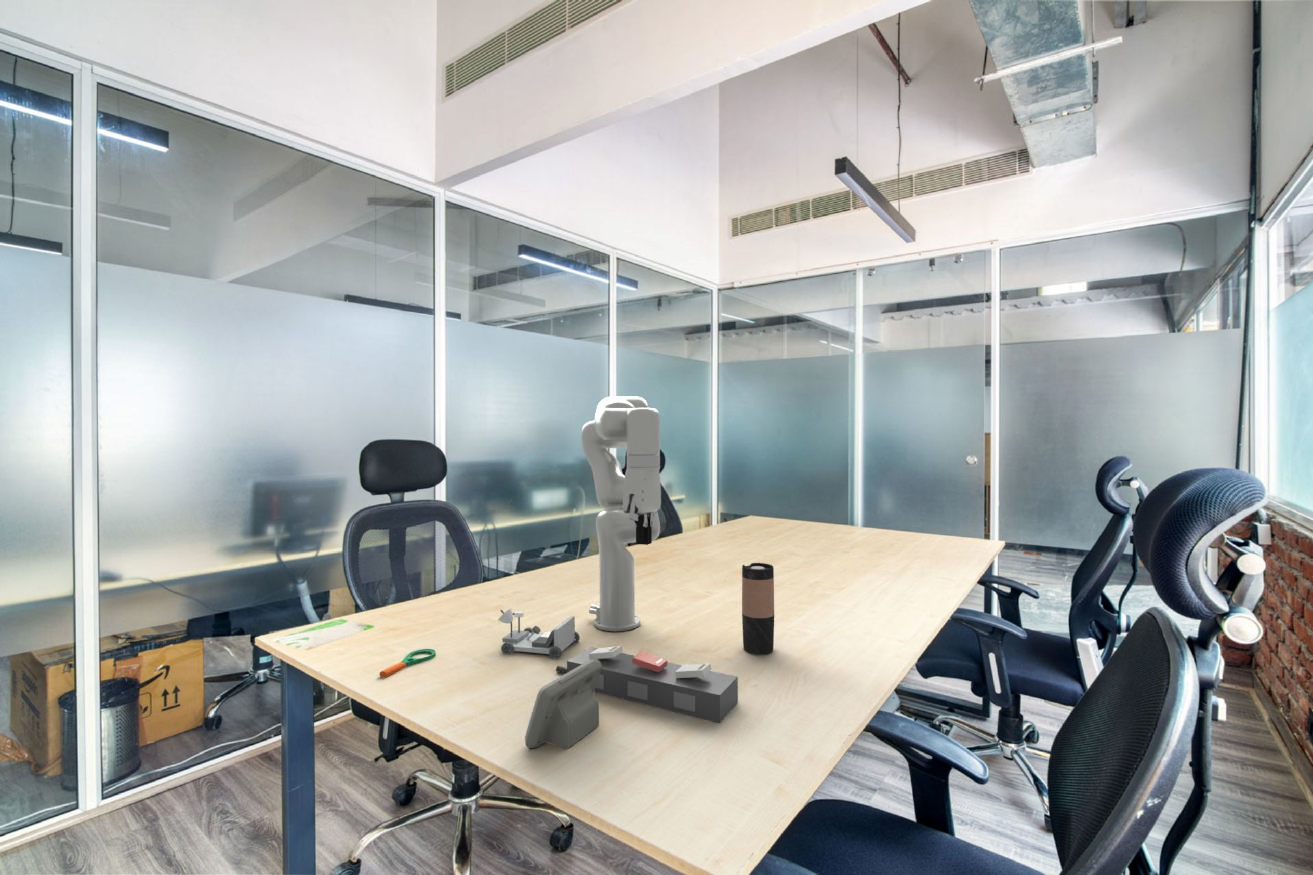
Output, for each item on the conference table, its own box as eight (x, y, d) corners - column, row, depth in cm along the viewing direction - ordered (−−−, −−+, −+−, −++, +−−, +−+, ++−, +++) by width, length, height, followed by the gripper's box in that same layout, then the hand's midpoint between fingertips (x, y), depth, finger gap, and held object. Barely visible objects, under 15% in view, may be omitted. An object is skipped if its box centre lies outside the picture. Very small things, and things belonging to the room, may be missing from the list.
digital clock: (584, 707, 110) (584, 651, 110) (618, 723, 104) (617, 664, 104) (511, 742, 98) (511, 679, 98) (545, 761, 92) (544, 694, 92)
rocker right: (676, 678, 111) (674, 671, 111) (684, 671, 114) (682, 664, 114) (704, 676, 108) (702, 669, 108) (711, 669, 111) (710, 662, 111)
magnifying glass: (420, 652, 140) (420, 645, 140) (441, 655, 138) (441, 648, 138) (371, 677, 125) (371, 669, 125) (394, 681, 124) (394, 673, 124)
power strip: (543, 679, 123) (543, 656, 123) (570, 664, 131) (569, 642, 131) (719, 723, 103) (719, 695, 103) (737, 702, 112) (737, 676, 112)
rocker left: (590, 659, 120) (588, 653, 121) (599, 653, 124) (598, 647, 124) (613, 657, 118) (612, 651, 118) (622, 651, 121) (621, 645, 121)
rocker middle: (632, 663, 116) (632, 657, 115) (641, 657, 119) (641, 651, 119) (658, 672, 113) (659, 665, 113) (667, 665, 116) (667, 659, 116)
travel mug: (774, 656, 135) (774, 570, 135) (741, 654, 136) (740, 569, 136) (774, 644, 142) (774, 563, 142) (743, 642, 144) (742, 562, 144)
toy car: (490, 613, 139) (514, 599, 150) (491, 653, 139) (514, 637, 150) (560, 618, 134) (579, 604, 145) (560, 660, 134) (579, 643, 145)
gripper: (645, 461, 139) (645, 537, 139) (611, 463, 126) (611, 548, 126) (673, 461, 136) (673, 539, 136) (641, 464, 123) (641, 551, 123)
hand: (643, 543), depth 131 cm, fingers closed
